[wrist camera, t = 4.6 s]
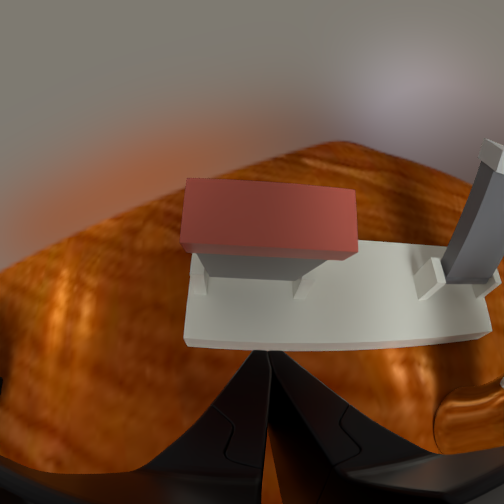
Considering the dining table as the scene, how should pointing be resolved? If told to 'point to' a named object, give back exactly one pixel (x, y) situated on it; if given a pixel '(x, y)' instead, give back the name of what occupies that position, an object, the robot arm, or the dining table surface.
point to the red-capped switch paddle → (267, 227)
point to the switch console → (340, 305)
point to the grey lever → (479, 224)
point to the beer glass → (471, 418)
